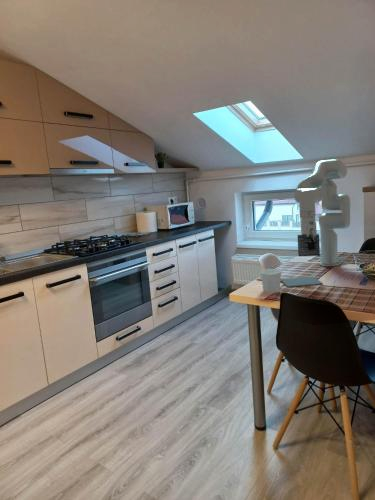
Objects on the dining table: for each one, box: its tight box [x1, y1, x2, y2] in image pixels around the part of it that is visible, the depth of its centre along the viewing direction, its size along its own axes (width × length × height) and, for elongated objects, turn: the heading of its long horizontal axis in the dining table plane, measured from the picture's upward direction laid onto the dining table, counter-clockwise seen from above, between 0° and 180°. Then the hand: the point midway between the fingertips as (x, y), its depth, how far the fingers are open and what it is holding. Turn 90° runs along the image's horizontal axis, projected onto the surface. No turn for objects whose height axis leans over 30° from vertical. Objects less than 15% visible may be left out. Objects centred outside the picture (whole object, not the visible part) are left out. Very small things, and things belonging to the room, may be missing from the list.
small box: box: [297, 233, 321, 257], centre depth 190 cm, size 11×6×10 cm, turn 73°
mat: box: [280, 275, 324, 288], centre depth 196 cm, size 18×14×1 cm
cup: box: [260, 268, 282, 294], centre depth 185 cm, size 10×10×10 cm
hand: (308, 248), depth 190 cm, fingers closed on small box, 7 cm apart
